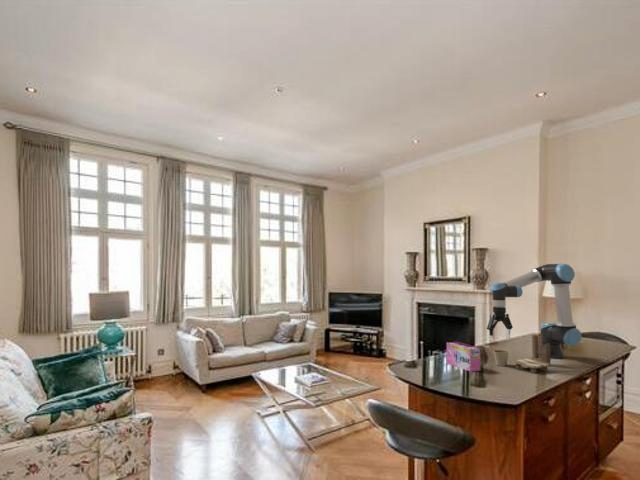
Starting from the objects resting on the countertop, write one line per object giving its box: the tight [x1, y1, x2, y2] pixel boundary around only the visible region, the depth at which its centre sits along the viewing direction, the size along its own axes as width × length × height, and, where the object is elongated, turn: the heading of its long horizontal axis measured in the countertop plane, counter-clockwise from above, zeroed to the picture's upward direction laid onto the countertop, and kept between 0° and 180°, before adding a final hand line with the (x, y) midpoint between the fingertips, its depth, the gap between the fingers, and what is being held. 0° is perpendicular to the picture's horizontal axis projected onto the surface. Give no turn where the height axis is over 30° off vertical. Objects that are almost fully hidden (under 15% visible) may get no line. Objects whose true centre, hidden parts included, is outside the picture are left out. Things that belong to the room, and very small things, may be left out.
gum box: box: [446, 341, 482, 372], centre depth 245 cm, size 24×8×14 cm, turn 20°
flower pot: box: [492, 349, 510, 367], centre depth 248 cm, size 9×9×9 cm
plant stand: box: [511, 358, 552, 374], centre depth 236 cm, size 15×15×4 cm
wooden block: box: [530, 334, 552, 365], centre depth 250 cm, size 4×11×18 cm, turn 26°
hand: (500, 340), depth 249 cm, fingers open, 13 cm apart
